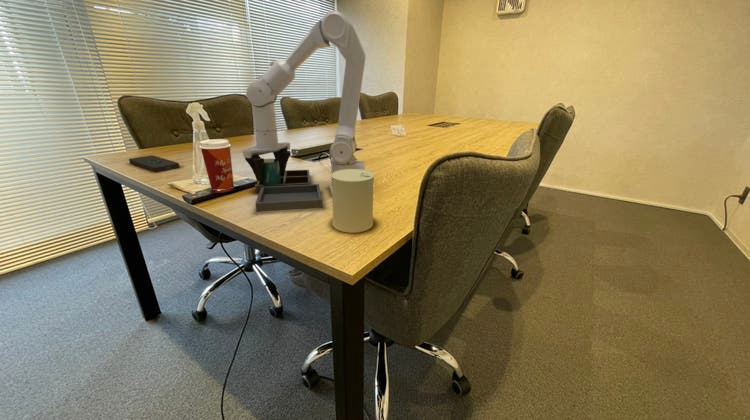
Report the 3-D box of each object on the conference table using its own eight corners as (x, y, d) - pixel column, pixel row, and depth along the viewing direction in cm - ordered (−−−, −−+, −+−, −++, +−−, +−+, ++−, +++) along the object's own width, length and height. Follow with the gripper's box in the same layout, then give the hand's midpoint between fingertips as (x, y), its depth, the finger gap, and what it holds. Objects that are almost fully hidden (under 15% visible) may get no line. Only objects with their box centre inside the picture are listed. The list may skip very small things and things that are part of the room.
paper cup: (226, 196, 82) (217, 144, 77) (201, 193, 84) (191, 142, 78) (243, 187, 90) (236, 139, 84) (220, 185, 91) (212, 137, 85)
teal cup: (282, 184, 92) (279, 158, 89) (281, 189, 87) (278, 162, 84) (264, 185, 91) (260, 158, 87) (262, 190, 86) (258, 163, 83)
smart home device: (153, 167, 100) (127, 158, 110) (155, 172, 101) (128, 163, 110) (180, 162, 107) (152, 154, 116) (181, 167, 107) (153, 159, 117)
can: (369, 234, 64) (370, 180, 59) (327, 230, 65) (324, 177, 60) (376, 217, 72) (377, 168, 68) (338, 213, 74) (337, 165, 69)
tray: (319, 192, 87) (319, 184, 86) (322, 209, 76) (322, 199, 75) (262, 195, 84) (261, 186, 83) (256, 213, 73) (255, 203, 72)
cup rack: (309, 176, 101) (308, 169, 100) (310, 191, 88) (310, 183, 87) (262, 178, 98) (261, 171, 97) (257, 193, 85) (255, 185, 84)
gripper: (276, 125, 90) (281, 170, 95) (232, 131, 79) (240, 181, 84) (293, 128, 87) (297, 174, 92) (250, 134, 75) (257, 186, 81)
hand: (271, 177), depth 88 cm, fingers open, 7 cm apart
